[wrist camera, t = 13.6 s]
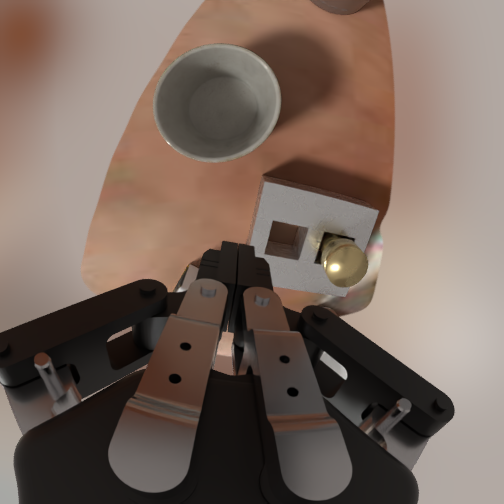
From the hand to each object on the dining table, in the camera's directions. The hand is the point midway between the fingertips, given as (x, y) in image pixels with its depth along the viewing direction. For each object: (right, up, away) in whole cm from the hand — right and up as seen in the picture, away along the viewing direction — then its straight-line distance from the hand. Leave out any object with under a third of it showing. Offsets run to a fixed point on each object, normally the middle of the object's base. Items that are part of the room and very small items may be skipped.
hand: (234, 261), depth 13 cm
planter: (-3, +19, +20) cm, 28 cm away
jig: (+9, +3, +27) cm, 29 cm away
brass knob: (+12, +3, +28) cm, 30 cm away
